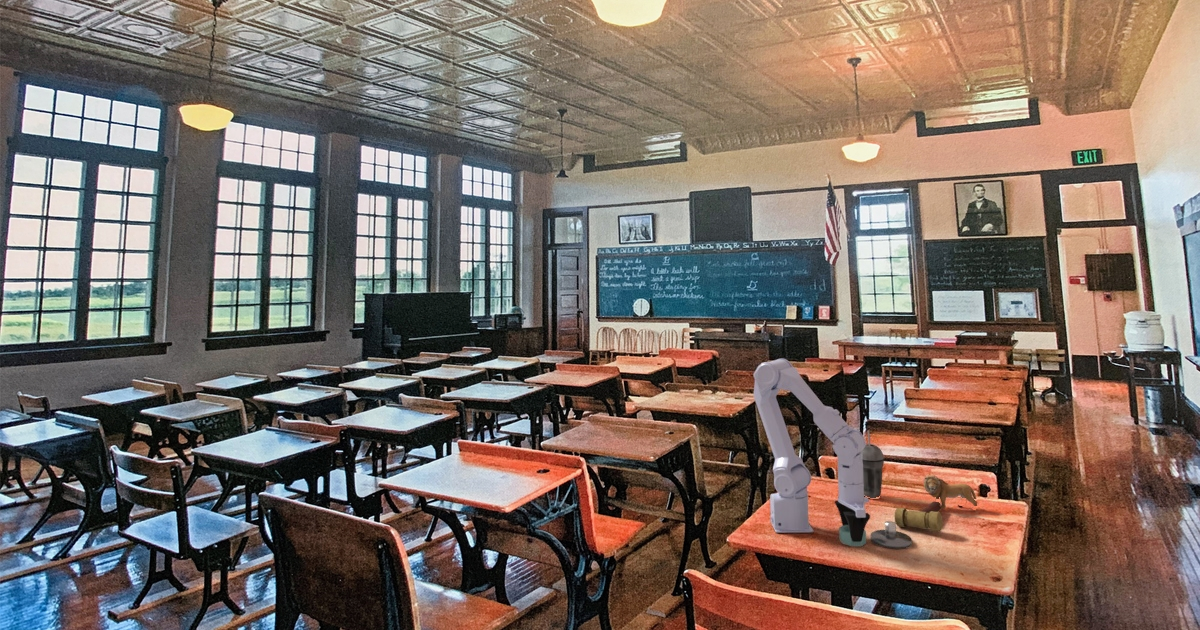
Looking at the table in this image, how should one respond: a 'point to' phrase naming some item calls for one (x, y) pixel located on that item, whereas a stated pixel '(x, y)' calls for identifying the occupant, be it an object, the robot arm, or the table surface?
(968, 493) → the lion figurine
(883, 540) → the grey peg stand
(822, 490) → the table surface
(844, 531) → the ring
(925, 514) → the gavel
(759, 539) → the table surface
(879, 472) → the beverage cup
